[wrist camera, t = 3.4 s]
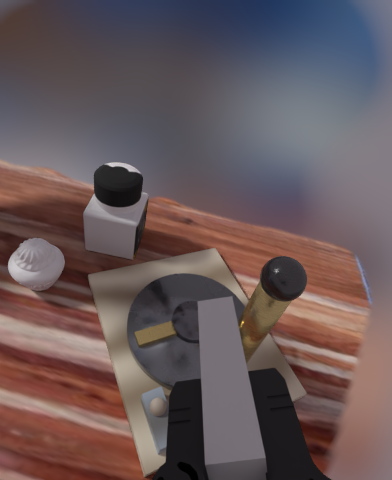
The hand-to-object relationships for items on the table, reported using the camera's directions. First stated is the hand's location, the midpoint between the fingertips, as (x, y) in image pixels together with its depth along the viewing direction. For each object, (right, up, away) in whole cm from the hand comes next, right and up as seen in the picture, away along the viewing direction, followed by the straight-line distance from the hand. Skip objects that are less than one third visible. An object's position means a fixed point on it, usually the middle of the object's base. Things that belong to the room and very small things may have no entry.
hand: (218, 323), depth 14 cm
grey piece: (-21, -2, +27) cm, 34 cm away
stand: (-2, -8, +25) cm, 27 cm away
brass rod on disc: (-2, -7, +24) cm, 25 cm away
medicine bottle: (-13, +4, +34) cm, 37 cm away
